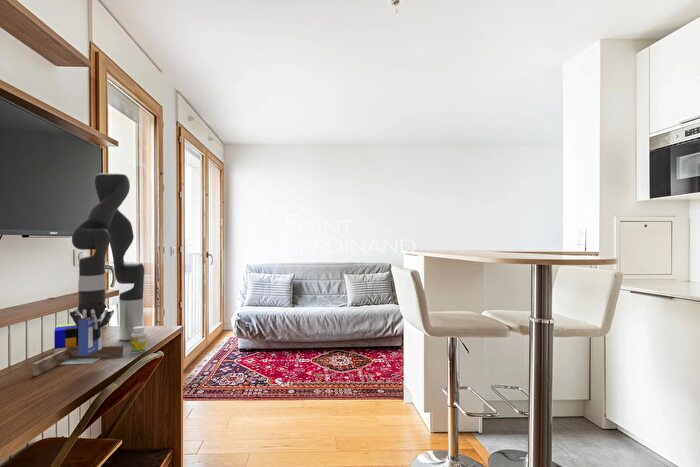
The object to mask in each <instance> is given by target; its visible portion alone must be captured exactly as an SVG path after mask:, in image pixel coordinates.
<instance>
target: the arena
mask: <svg viewBox="0 0 700 467" xmlns="http://www.w3.org/2000/svg"><path fill="white" fill-rule="evenodd" d="M123 356H124V345H102V349H100V350H98V351H96V352H93V353H91V354H89V355H86V356H83V355H78V346H75V347H68V348H66V349H63V350H61V351H59V352H57V353H55V354H54V353H53V354H50V355H48V356H46V357H45V358H42V359H40V360H38V361H36V362H34V363H32V368H33V369H32V370H33V372H32V375H33V377H37V376H39V375H41V374H43V373H45V372H48V371H50V370H51V369H53V368H55V367H57V366H65V365H67V366H69V365H93V364H94V363H95V362H98V361H100V360H101V359H102V358H117V357H118V358H120V357H123Z"/></svg>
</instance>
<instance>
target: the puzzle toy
mask: <svg viewBox="0 0 700 467" xmlns="http://www.w3.org/2000/svg"><path fill="white" fill-rule="evenodd" d="M53 331H54V333H53V334H54V337H53V339H54V344H53V346H54V349H53V350H54V351H53V354H55V353H57V352H59V351H61V350H63V349H66V348H68V347H75V346H78V327H77V326H76V324H75V323H68V324H56V325H55V327H54V330H53Z"/></svg>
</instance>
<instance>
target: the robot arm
mask: <svg viewBox="0 0 700 467" xmlns="http://www.w3.org/2000/svg"><path fill="white" fill-rule="evenodd" d="M130 185H131V184H130V179H129V177H128V176H127V175H126V174H125V173H109V172H107V173H103V172H101V173H98V174H96V175H95V178H94V186H95V190H96V194H97V198H98V201H99V202H97V203H96V204H95V205H94V206H93V207H92V209H91V210H90V212H89V214H88V216H87V218H86V219H85V220H84V221H83V222H82V223H81V224H80V225H79V226H78V227H77V228H76V229H75V230H74V231H73V234H72V236H71V242H72V243H71V244H72V246H73V247H74V248H75V249H78V250H81V251H84V250H85V251H86V250H87V251H88V250H89V251H90V250H95V252H94V253H93V254H92V255H90V256H84V257H82V258H80V259H79V260H78V275H79V276H78V283H77V284H78V285H77V288H78V289H77V292H78V299H77V300H78V306H77V309H75V310H72V311H70V312H69V315H70V317H71V319H72V320H73V322H74V324H76V326H77V327H78V320H80V319H83V318H92V322H93V324H94V330H93V333H94V340H98V339H99V338H100V337H101V327H102V328H103V327H106V326H107V325H108V324H109V321H110V320H111V318H112V316H113V315H114V312H115V310H114V309H109V308H107V305H106V279H105V261H106V260H105V258H106V255H107V251H108V248H109V246H110V249H111V254H112V262H113V268H114V269H113V270H114V275H115V276H114V277H115V279H116V282H117V283H118V284H121V285H122V284H123V285H124V284H125V285H127V284H129V285H131V284H132V285H133V287H132V288H130V289H128V290H125V291H123V292H120V293H119V340H121V341H131V334H132V333H134V332H133V327H138V326H144V283H145V282H144V281H145V266H144V264H143V263H142V262H125V260H124V258H125V255H126V253H127V251H128V249H130V246H131V245H132V243H133V241H134V230H133V225H132V223H131V221H130V219H129V218H128V217H127V216H126V215H125V214H124V213H123V212H122V211H121V210H120V209H119V208H120V206H121V205H122V204H123V203H124V201H125V200H126V198H127V197H128V195H129V193H130V189H131V188H130ZM101 315H102V317H101ZM103 315H104V316H103ZM81 316H82V317H81ZM101 320H102V322H101Z"/></svg>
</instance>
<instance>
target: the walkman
mask: <svg viewBox="0 0 700 467" xmlns="http://www.w3.org/2000/svg"><path fill="white" fill-rule="evenodd" d="M101 317H102V318H103V314H102V315H101ZM102 320H103V319H102ZM102 320H101V322H102ZM93 330H94V324H93V322H92V318H83V317H82V319H80V320H78V355H83V356H86V355H89V354H91V353H93V352H96V351H98V350H100V349H102V346H103V343H102V342H103V327H101V337H100V338H99V339H98V340H94V333H93Z"/></svg>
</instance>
